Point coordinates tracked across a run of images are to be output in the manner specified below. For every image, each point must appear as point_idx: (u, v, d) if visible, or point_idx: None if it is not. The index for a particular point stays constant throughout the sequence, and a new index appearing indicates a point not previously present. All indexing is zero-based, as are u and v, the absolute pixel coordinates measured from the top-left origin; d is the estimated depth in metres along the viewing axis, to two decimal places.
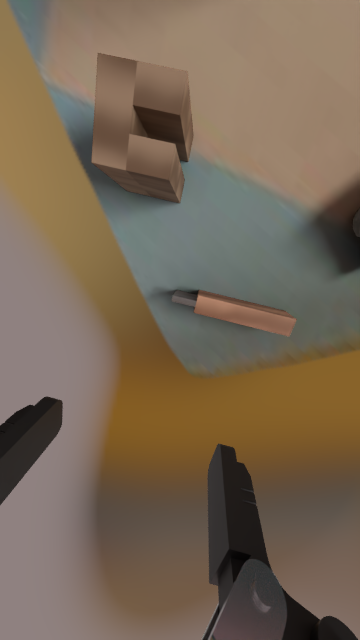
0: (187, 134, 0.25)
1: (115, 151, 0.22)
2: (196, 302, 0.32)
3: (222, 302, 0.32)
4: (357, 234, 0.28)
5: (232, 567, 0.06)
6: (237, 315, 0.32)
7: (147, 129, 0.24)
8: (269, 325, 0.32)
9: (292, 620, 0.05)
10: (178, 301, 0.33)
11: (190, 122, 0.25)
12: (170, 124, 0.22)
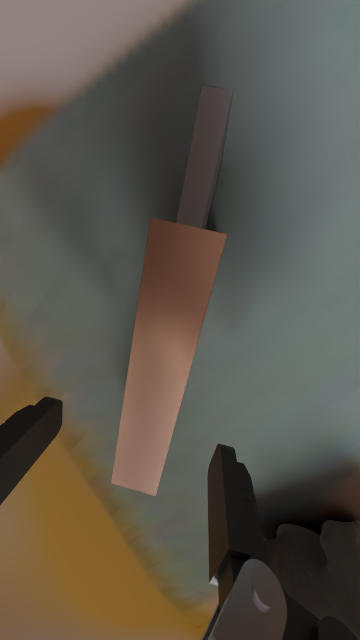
0: None
1: None
2: (195, 228, 0.08)
3: (196, 329, 0.09)
4: (328, 544, 0.15)
5: (232, 567, 0.06)
6: (153, 376, 0.10)
7: None
8: (132, 448, 0.12)
9: (292, 620, 0.05)
10: (199, 131, 0.07)
11: None
12: None
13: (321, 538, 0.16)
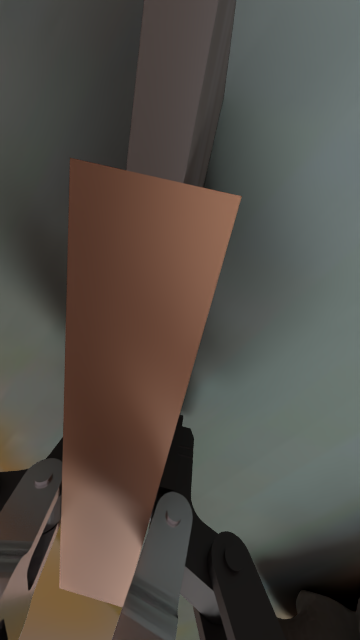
0: None
1: None
2: (170, 182, 0.03)
3: (178, 388, 0.05)
4: None
5: (157, 500, 0.07)
6: (106, 458, 0.06)
7: None
8: (85, 551, 0.08)
9: (199, 537, 0.06)
10: None
11: None
12: None
13: None
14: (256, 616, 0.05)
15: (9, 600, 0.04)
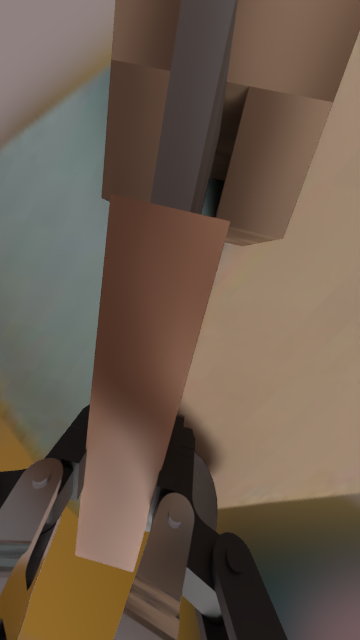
0: (226, 237, 0.15)
1: (152, 18, 0.08)
2: (180, 211, 0.05)
3: (184, 363, 0.06)
4: None
5: (158, 500, 0.07)
6: (124, 425, 0.07)
7: (232, 150, 0.12)
8: (100, 516, 0.09)
9: (201, 538, 0.06)
10: (185, 45, 0.04)
11: (244, 242, 0.16)
12: None
13: None
14: (258, 618, 0.05)
15: (8, 600, 0.04)
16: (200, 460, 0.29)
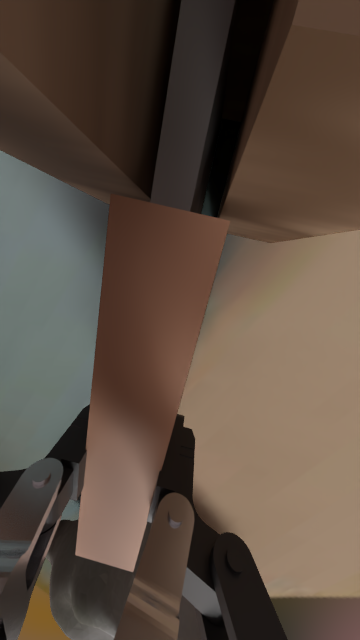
0: (253, 222, 0.07)
1: None
2: (180, 210, 0.05)
3: (184, 363, 0.06)
4: None
5: (158, 500, 0.07)
6: (124, 425, 0.07)
7: None
8: (100, 515, 0.09)
9: (201, 538, 0.06)
10: (185, 44, 0.04)
11: (290, 233, 0.07)
12: (269, 44, 0.03)
13: None
14: (258, 618, 0.05)
15: (7, 600, 0.04)
16: None
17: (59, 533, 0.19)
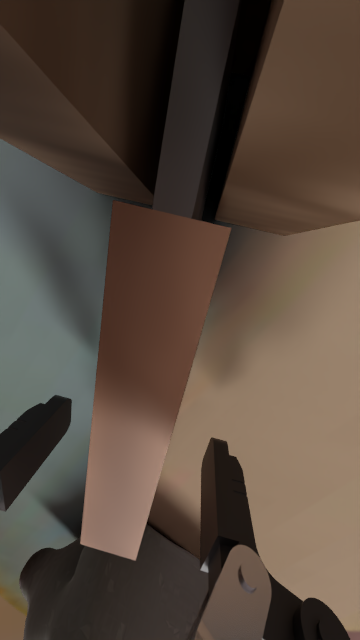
0: (274, 197, 0.05)
1: None
2: (182, 217, 0.05)
3: (185, 365, 0.06)
4: (83, 552, 0.15)
5: (221, 553, 0.06)
6: (127, 424, 0.07)
7: None
8: (104, 508, 0.09)
9: (277, 602, 0.05)
10: (187, 50, 0.04)
11: (325, 216, 0.05)
12: None
13: (85, 546, 0.15)
14: None
15: None
16: (206, 572, 0.18)
17: (39, 566, 0.16)
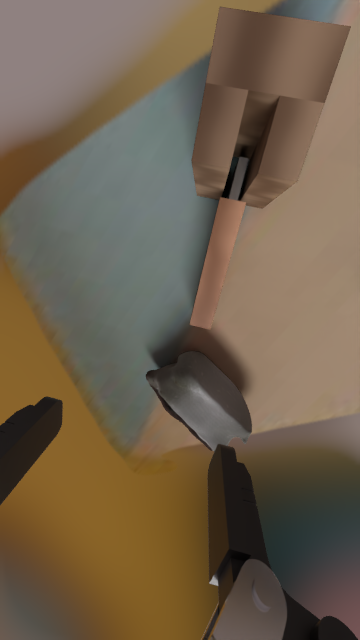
0: (255, 195, 0.22)
1: (230, 62, 0.15)
2: (235, 200, 0.23)
3: (234, 239, 0.24)
4: (179, 356, 0.32)
5: (232, 567, 0.06)
6: (215, 262, 0.25)
7: (263, 133, 0.19)
8: (202, 302, 0.27)
9: (292, 620, 0.05)
10: (238, 169, 0.22)
11: (266, 199, 0.23)
12: (257, 164, 0.18)
13: None
14: None
15: None
16: (233, 385, 0.36)
17: (154, 371, 0.34)
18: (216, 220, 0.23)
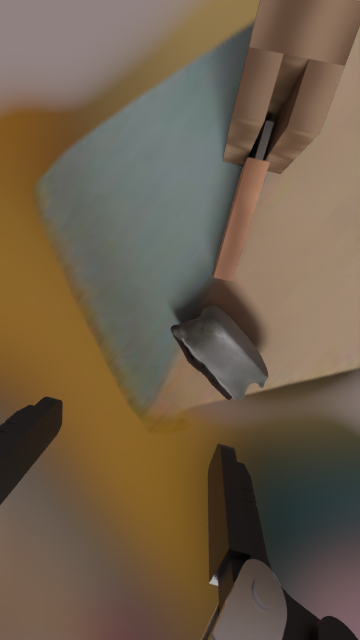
0: (277, 156, 0.26)
1: (270, 29, 0.18)
2: (260, 160, 0.26)
3: (257, 196, 0.27)
4: (203, 309, 0.35)
5: (232, 567, 0.06)
6: (240, 218, 0.28)
7: (289, 97, 0.22)
8: (226, 255, 0.30)
9: (292, 620, 0.05)
10: (264, 132, 0.25)
11: (287, 160, 0.26)
12: (285, 121, 0.21)
13: (202, 310, 0.36)
14: None
15: None
16: None
17: (179, 324, 0.37)
18: (243, 178, 0.27)
